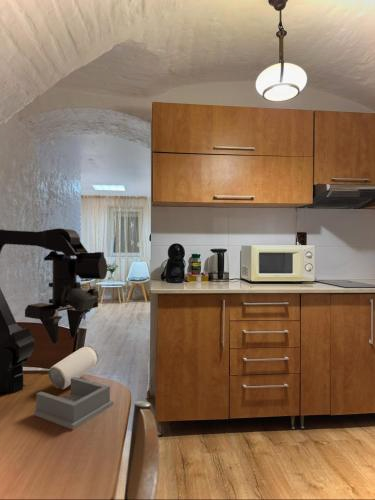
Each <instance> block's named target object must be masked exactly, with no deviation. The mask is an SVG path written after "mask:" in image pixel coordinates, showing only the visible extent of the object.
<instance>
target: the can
mask: <svg viewBox="0 0 375 500" xmlns="http://www.w3.org/2000/svg"><path fill="white" fill-rule="evenodd" d="M98 362H99V355H98V352H97V351H96V349H94V348H93V347H92V346H89V345H86V346H83V347H80V348H79V349H76V351H74V352H72V353H71V354H69V355H68V356H66V357H65V358H63V359H62V360H60V361H58V362H56V363H55V364H54V365H52V366H51V367H50V368H49V370H48V378H49V381H50V383H51V384H52V385H53V386H54V388H56V389H57V390H65V389H66V388H67V387H69V386H71V378H73V377H77V378H82V376H84V375H86V373H88V372H89V371H91V370H92V369H93V368H94V367H95V366H96V364H97V363H98Z"/></svg>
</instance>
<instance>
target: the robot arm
mask: <svg viewBox="0 0 375 500" xmlns="http://www.w3.org/2000/svg"><path fill="white" fill-rule="evenodd" d="M5 245H17V246H18V245H19V246H32V247H40V248H43V249H45V250H48V251H49V250H50V252H49V253H48V254H47V255H46V256H44V258H43V260H44V261H49V262H50V261H51V262H52V280H51V281H52V282H48V288H51V289H52V298H49V299H48V303H43V302H39V303H38V302H37V303H32V304H31V303H30V304H27V306H26V307H25V309H24V317H25V318H30V319H35V320H39V321H40V322H41V324H42V325H43V326H44V328H45V329H46V332H47V333H48V336H49V338H50V340H51V342H52V343H53V344H55V345H56V344H58V340H59V339H58V338H59V322H60V321H61V319H62V318H63V316H62V315H61V316H60V315H59V312H61V311H66V313H67V321H68V322H67V323H68V328H69V333H70V338H76V337H77V333H78V330H79V328H80V325H81V322H82V321H83V317H84V316H85V315H86V314H87V313H90V312H91V310H92V309H96V308H98V307H99V290H98V289H96V288H95V287H94V288H93V287H92V288H89V289H88V290H87V289H86V290H85V289H82V284H81V282H80V281H77V276H78V277H79V279H81V280H105V278H106V277H107V274H108V263H107V259H106V258H105V252H104V251H97V252H96V251H95V252H88V250H87V249H86V247H85V246H84V244H83V243H82V242H81V237H80V235H79V234H78V232H77V231H76V230H74V229H69V228H51V229H45V230H41V231H31V230H28V231H27V230H13V229H11V230H10V229H3V228H0V254H1V252H2V250H3V247H4V246H5ZM58 252H59V253H58ZM73 257H74V258H73ZM75 257H76V258H75ZM35 341H36V339H35V338H34V337H33V336H32V334H31V330H30V328H29V327H27V326H26V327H25V328H23V327H21V326H19V324H18V323H17V322H16V319H15V317H14V315H13V313H12V311H11V308H10V306H9V304H8V301H7V300H6V297H5V295H4V292H3V291H2V288H1V287H0V395H1V396H0V397H2V396H4V395H7V394H15V393H17V392H19V391H22V390H23V389H24V388H25V387H27V385H26V384H24V366H23V364H25V363H27V362H28V361H29V359H30V356H31V355H32V354H33V352H34V351H35V350H34V349H35V347H36V346H35V343H34V342H35Z"/></svg>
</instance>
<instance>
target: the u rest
mask: <svg viewBox="0 0 375 500" xmlns="http://www.w3.org/2000/svg"><path fill="white" fill-rule="evenodd" d="M35 401H36V403H35V404H36V406H35V408H36V409H35V410H33V416H35V417H38V418H40V419H43V420H46V421H48V422H52V423H54V424H56V425H60V426H62V427H64V428H68V429H70V430H73V431H74V430H76V429H77V428H79V427H80V426H82V425H84V424H85V423H87V422H88V421H90V420H92V419H93V418H95V417H96V416H98V415H100V414H102V412H105V411H107V409H109V408H111V407H112V406H114V400H111V386H109V385H106V384H102V383H99V382H94V381H91V380H86V379H83V378H82V377H80V378H77V377H73V378H71V384H70V392H69V393H67V394H65V395H63V396H61V397H60V396H56V395H54V394H50V393H48V392H44V391H39V392H36V400H35Z"/></svg>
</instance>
